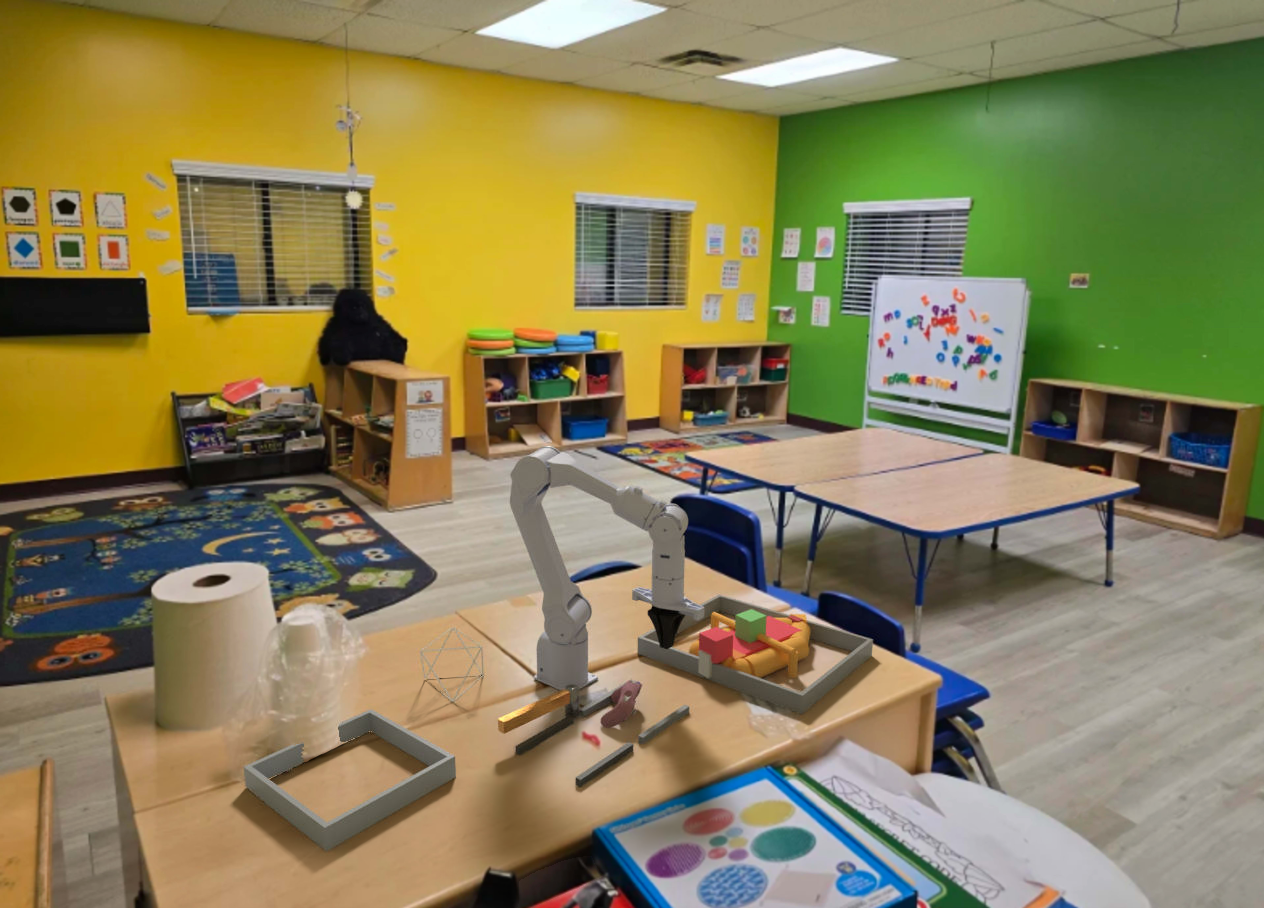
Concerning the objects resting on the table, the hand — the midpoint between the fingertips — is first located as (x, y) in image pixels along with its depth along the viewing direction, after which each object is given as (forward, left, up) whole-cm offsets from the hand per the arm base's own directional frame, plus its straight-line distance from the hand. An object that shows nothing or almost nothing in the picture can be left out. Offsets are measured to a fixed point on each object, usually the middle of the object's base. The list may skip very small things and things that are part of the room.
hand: (666, 646), depth 150 cm
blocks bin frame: (+4, +24, -9) cm, 27 cm away
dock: (0, -16, -9) cm, 19 cm away
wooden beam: (-8, -24, -9) cm, 26 cm away
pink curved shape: (-1, -11, -10) cm, 14 cm away
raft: (+4, +24, -10) cm, 26 cm away
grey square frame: (-20, -52, -9) cm, 56 cm away
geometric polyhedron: (-32, -23, -10) cm, 40 cm away
